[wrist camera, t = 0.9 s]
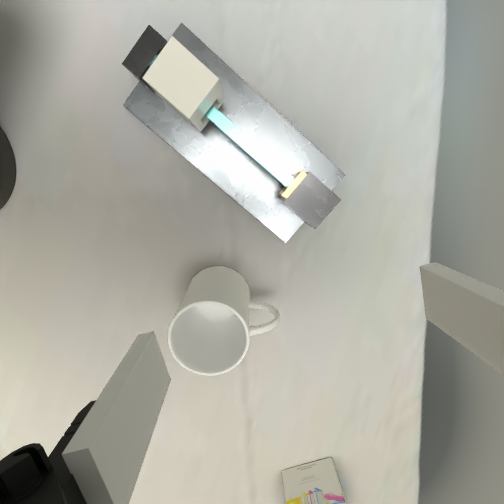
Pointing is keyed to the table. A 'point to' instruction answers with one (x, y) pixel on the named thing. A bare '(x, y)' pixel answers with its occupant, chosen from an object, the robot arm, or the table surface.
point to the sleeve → (185, 83)
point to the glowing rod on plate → (239, 142)
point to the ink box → (313, 484)
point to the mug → (215, 322)
